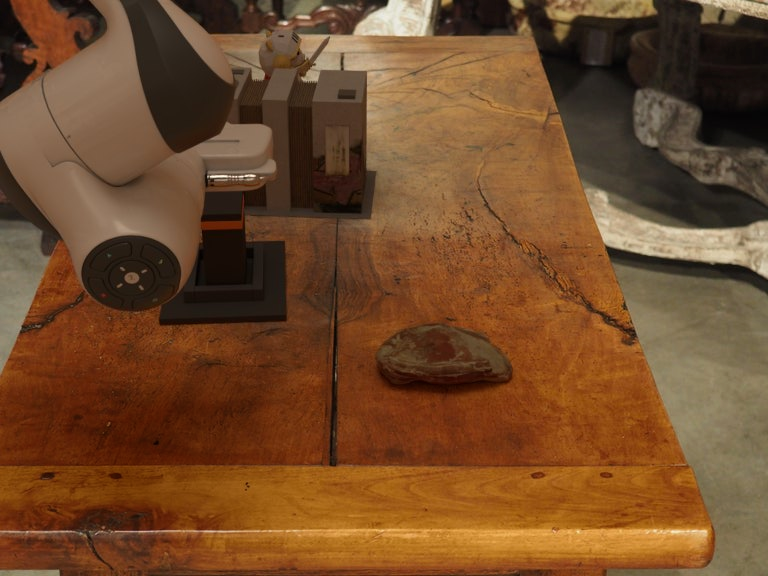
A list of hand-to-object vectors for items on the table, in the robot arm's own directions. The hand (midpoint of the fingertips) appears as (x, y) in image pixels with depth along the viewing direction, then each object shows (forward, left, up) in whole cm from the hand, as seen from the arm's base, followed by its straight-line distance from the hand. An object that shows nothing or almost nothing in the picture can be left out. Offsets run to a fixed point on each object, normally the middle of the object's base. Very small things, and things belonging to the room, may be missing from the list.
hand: (166, 123), depth 101 cm
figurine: (-39, +55, -26) cm, 72 cm away
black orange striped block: (-7, +13, -25) cm, 29 cm away
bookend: (-21, +36, -26) cm, 49 cm away
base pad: (-8, +13, -26) cm, 30 cm away
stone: (+22, +16, -26) cm, 38 cm away
